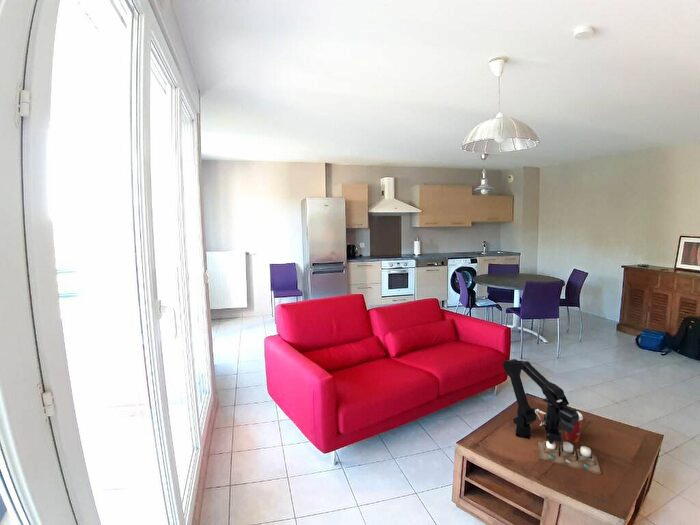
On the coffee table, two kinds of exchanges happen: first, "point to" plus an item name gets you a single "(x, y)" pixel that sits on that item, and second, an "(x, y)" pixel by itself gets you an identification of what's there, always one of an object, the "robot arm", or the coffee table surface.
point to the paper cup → (575, 430)
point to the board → (568, 458)
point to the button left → (550, 445)
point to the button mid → (568, 447)
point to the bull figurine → (540, 416)
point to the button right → (585, 452)
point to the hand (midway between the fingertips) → (550, 443)
